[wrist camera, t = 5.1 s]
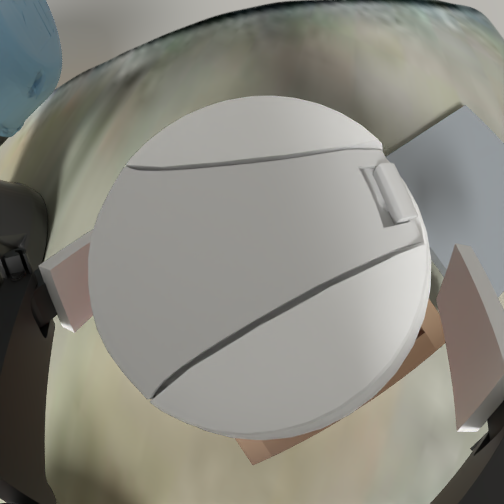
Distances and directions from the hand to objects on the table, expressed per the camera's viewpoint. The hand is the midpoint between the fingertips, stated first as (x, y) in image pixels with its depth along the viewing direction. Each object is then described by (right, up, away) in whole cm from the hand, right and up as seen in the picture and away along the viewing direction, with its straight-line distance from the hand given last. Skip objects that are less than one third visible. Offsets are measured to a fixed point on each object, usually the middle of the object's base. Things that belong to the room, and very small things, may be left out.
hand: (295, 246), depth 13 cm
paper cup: (+1, -4, +6) cm, 7 cm away
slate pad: (+14, +3, +5) cm, 15 cm away
